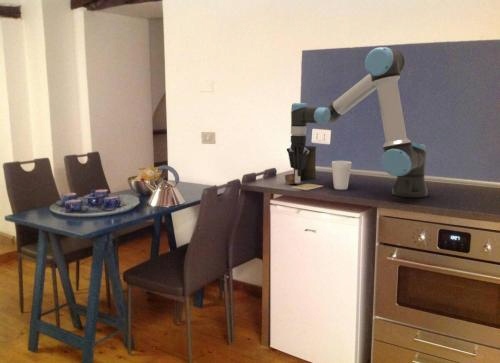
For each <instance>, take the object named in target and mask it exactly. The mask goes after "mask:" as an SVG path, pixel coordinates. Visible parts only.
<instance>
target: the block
mask: <svg viewBox="0 0 500 363" xmlns="http://www.w3.org/2000/svg"><path fill="white" fill-rule="evenodd" d="M284 180H285V185H288V186H289V185H295V184H297V183H295V176H294V173H288V174H285V175H284ZM300 183H301V181H300V182H299V183H298V184H300Z"/></svg>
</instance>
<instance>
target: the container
mask: <svg viewBox="0 0 500 363" xmlns="http://www.w3.org/2000/svg"><path fill="white" fill-rule="evenodd" d="M306 149H308V150H310V152H309V154H308V157H307V162H306V166H305V168H304V169H302V174H301V176H300V182H316V181H317V175H316V171H317V170H316V161H317V160H316V156H317V154H316V152H317V151H316V150H317V147H316V146H313V145H306ZM303 154H304V152H303Z"/></svg>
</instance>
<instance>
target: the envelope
mask: <svg viewBox="0 0 500 363" xmlns="http://www.w3.org/2000/svg"><path fill="white" fill-rule="evenodd" d="M321 187H324V185H319V184H314V183H313V184H312V183H304V184H303V183H302V184H299V185H296V186H295V185H294V186H290V188H291V189H292V188H293V189H298V190H303V191H304V190H305V191H309V190H312V189H317V188H321Z"/></svg>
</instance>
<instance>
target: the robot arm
mask: <svg viewBox="0 0 500 363" xmlns="http://www.w3.org/2000/svg"><path fill="white" fill-rule="evenodd" d="M405 67H406V59H405V55H404V54H403V53H402V52H401V51H399V50H398V49H395V48H389V47H386V46H381V47H375V48H373V49H372V50H370V51H369V52H368V53H367V55H366V57H365V60H364V68H365V70H366V72H367V73H368V74H367V75H365V76H364V77H362V79H360V80H359V81H358V82H357V83H356V84H353V86H352V87H351V88H349V89H348V90H347V91H346V92H345V93H343V94H342V95H340V96H339V97H338V98H336V100H334V101H333V102H332V103H331V104H329V105H328V106H322V107H321V106H319V107H314V106H313V107H310V106H308V103H306V102H294V103H292V104H291V109H290V118H291V119H290V120H291V121H290V122H291V124H290V134H291V135H290V143H291V144H290V146H289V147H287V148H286V152H287V153H288V160H289V164H290V165H289V166H290V168H292V169H293V174H294V176H295V183H296V184H300V183H301V180H300V176H301V174H302V169H304V168H305V166H306V162H307V157H308V154H309V152H310V150H308V149H306V146H307V145H306V143H307V136H306V134H307V124H319V125H321V124H322V125H324V124H328V123H336V122H338V121H339V120H341V118H342V116H343V115H344V114H346V113H347V112H349V110H350V109H352V108H353V107H355V106H356V105H357V104H358V103H360V102H361V101H362V100H364V99H365V98H367V97H368V96H369V95H371V94H372V93H373V92H375V91H377V96H378V102H379V103H378V104H379V108H380V109H379V110H380V114H381V121H382V126H383V133H384V134H383V135H384V138H385V142H384V143H383V145H382V148H383V155H382V157H381V160H380V161H381V163H380V164H381V167H382V168H383V170H384V172H386V173H387V174H388V175H390V176H393V177H396V179H395V180H394V184H393V186H392V189H391V193H392V195H394V196H397V197H403V198H425V197H428V187H427V183H426V180H425V174H426V171H425V170H426V158H427V157H426V156H427V146H426V145H425V144H422V143H413V142H412V141H411V140H410V139H409V138H408V137H407V132H406V125H405V120H404V118H405V117H404V114H403V112H404V111H403V106H402V101H401V96H400V89H399V84H398V81H399V80H400V78H401V73H402V72H403V70H404V69H405ZM303 152H304V154H303ZM299 182H300V183H299Z"/></svg>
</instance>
